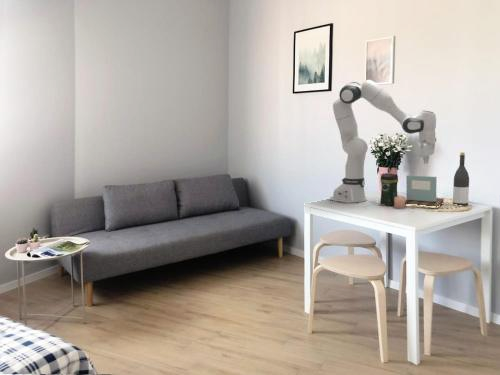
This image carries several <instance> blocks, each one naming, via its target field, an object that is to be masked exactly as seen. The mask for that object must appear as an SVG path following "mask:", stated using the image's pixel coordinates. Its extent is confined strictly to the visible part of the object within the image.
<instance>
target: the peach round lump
mask: <svg viewBox="0 0 500 375" xmlns="http://www.w3.org/2000/svg"><path fill="white" fill-rule="evenodd" d="M406 199H407V196H404V195H403V196H401V195H397V196H396V197H394V206H393V207H394V209H396V210H397V209H398V210H404V209H406V206H405V200H406Z"/></svg>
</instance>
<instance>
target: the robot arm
mask: <svg viewBox="0 0 500 375" xmlns="http://www.w3.org/2000/svg"><path fill="white" fill-rule="evenodd" d="M338 95H339V98H338V99H336V100H335V101H334V102H333V104H332V111H333V114H334V118H335V121H336V124H337V128H338V130H339V135H340V141H341V144H342V149H343V151H344V152H345V153H346V154H347V159H346V163H345V167H344V168H345V177H344V178H342V179H341V182H342V183H341V184H340V185H338V186H337V187H336V188H335V189H334V190H333V193H332V196H331V197H329V200H330V201H332V200H333V201H332V202H339V201H340V202H341V203H346V204H347V203H349V204H350V203H362V202H366V201H367V198H366V193H365V182H366V181H365V177H364V176H365V173H364V172H365V169H364V168H365V160H366V155H367V152H368V148H369V147H368V144H367V142H366V141H365V140H364V139H363V138H360V137H359V132H358V122H357V120H356V118H355V117H356V116H355V114H354V111H353V109H352V108H353V107H352V105H353V104H354V103H355V102H356V101H358V100H360V99H364V100H366V101H367V102H368V103H370V105H372V106H373V107H374V108H376V109H377V110H379V111H383V112H385V113H387V114H388V115H390V116H391V117H392V118H394V119H395V120H396V121H397V122H398V123H399V124H400V126H401V128H402V130H403V131H404V132H405V133H407V134H411V135H413V134H416V133H418V143H419V144H418V157H419V158H422V159H423V164H424V165H427V164H428V163H429V160H430V156H432V155H434V153H435V149H436V148H435V147H436V142H437V138H436V128H437V115H436V114H435V113H434V111H431V110H429V111H428V110H421V111H419V113H417V114H413V115H409V114H407V113H406V112H405V111H404V110H402V109H401V108H400V107H399V106H398V105H397V104H396V102H395V101H394V99H393V97H392V96H391V94H390V93H389V92H388V91H387V90H386V89H385V88H384V87H383V86H381V85H380V84H378V83H377V82H376V81H373V80H372V79H366V80H364V81H363V82H361V84H360V83H359V82H356V81H352V82H349V83H346V84H345V85H344V86H343V87H342V88H341V89H340V91H339V94H338ZM340 202H339V203H340Z"/></svg>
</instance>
